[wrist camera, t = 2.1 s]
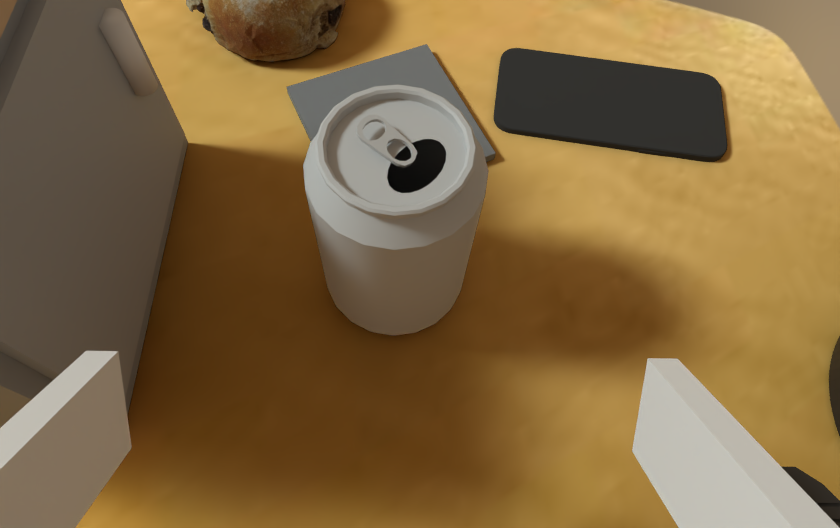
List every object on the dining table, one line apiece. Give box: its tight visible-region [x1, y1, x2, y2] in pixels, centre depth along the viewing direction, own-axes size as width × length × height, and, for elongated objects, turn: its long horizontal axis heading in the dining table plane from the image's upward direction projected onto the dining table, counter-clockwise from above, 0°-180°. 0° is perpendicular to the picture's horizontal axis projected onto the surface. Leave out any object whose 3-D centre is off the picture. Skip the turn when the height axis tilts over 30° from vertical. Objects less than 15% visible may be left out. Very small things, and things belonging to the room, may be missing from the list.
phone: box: [494, 48, 727, 162], centre depth 40 cm, size 7×1×15 cm
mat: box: [287, 44, 496, 162], centre depth 38 cm, size 10×10×1 cm
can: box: [303, 85, 488, 336], centre depth 28 cm, size 8×8×12 cm
